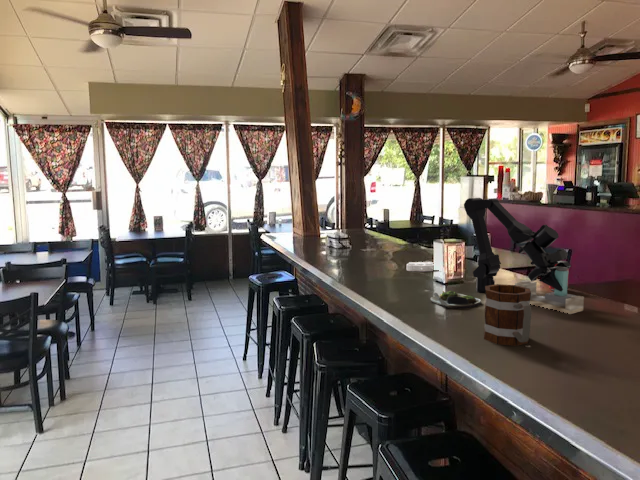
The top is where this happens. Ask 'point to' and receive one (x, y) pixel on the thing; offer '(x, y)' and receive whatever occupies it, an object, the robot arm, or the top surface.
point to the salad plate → (455, 300)
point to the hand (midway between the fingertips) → (564, 290)
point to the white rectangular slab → (420, 266)
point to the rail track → (570, 307)
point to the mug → (507, 314)
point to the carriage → (562, 278)
